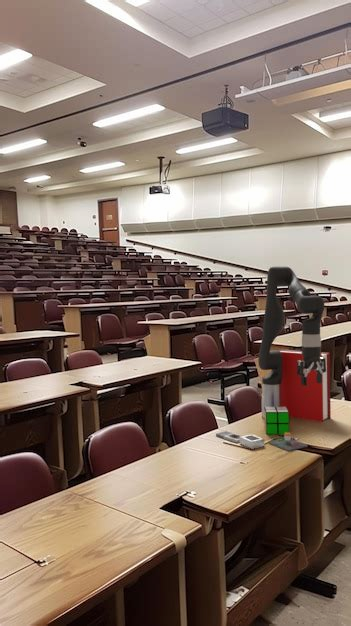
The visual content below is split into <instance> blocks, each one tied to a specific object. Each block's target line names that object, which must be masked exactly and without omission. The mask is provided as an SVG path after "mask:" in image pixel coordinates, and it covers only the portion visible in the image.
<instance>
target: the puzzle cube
mask: <svg viewBox="0 0 351 626" xmlns="http://www.w3.org/2000/svg"><path fill="white" fill-rule="evenodd" d="M264 417H265V418H263V419H264V421H263V422H264V425H263V427H264V430H265V434H266V435H273V436H274V435H280V436H281V435H283V436H285V432H290V416H289V412H288V410H287V408H286V407H264Z"/></svg>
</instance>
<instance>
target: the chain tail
mask: <svg viewBox="0 0 351 626" xmlns="http://www.w3.org/2000/svg"><path fill="white" fill-rule="evenodd" d="M215 436H216V437H217V438H218V437H219V438H221V439H224V440H227V441H229V442H232V443H235V442H236V443H235V444H238V442H239V443H240V437H241V436H243V435H242V434H239V433H235V432H230V431H227V430H225V431H220V432H218V433H215Z"/></svg>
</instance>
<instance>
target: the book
mask: <svg viewBox="0 0 351 626" xmlns="http://www.w3.org/2000/svg"><path fill="white" fill-rule="evenodd" d="M276 350H277V351H280V353H281V354H282V359H283V367H282V380H281V389H282V407H286V408H287V410H288V412H289V417H291V418H298V419H304V420H307V421H314V422H320V423H324V420H326V419H332V418H331V414H332V413H331V353H330V352H322V351H321V356H320V357H321V358H325V359H326V372H324V373H323V374H322V383H317V376H316V374H318V373H316V371H315V370H310V372H309V373H308V374H307V376H306V377H307V386H302V384H301V376H299V375H297V361H298V360H299V361H303V359H304V358H303V356H302V350H294V349H293V350H291V349H276ZM320 357H319V358H320ZM305 369H306V368H305ZM322 369H323V366H322ZM300 371H301V370H300ZM304 373H305V372H304Z"/></svg>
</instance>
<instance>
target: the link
mask: <svg viewBox="0 0 351 626" xmlns="http://www.w3.org/2000/svg"><path fill="white" fill-rule="evenodd" d="M241 444H242V445H241ZM239 445H241V446H243V445H244V447H245V448H248V447H249V448H248V449H250V448H251V450H255V449H258V448H259V447H260V448H264V447H265V438H262V437H260V436H258V435H255V434H253V433H252V434H246V435H242V436H241V437H240V442H239ZM263 446H264V447H263ZM254 448H255V449H254ZM260 448H259V449H260Z"/></svg>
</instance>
